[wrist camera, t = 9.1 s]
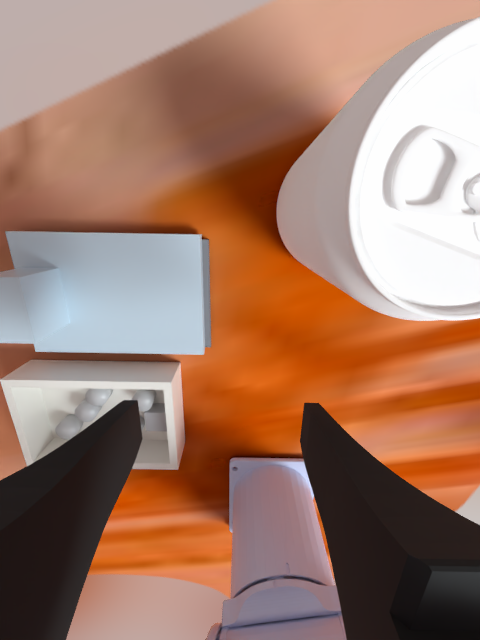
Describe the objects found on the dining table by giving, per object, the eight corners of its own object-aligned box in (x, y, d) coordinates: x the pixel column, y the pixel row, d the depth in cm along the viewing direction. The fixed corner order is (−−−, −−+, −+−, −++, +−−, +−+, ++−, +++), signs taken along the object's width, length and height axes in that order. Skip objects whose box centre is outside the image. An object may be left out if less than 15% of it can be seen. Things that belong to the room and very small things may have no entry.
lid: (205, 350, 21) (196, 379, 17) (42, 347, 21) (-4, 376, 17) (201, 234, 18) (190, 237, 14) (14, 231, 18) (-50, 233, 14)
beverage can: (370, 282, 20) (540, 360, 9) (261, 256, 19) (290, 303, 8) (419, 158, 17) (758, 33, 6) (295, 124, 17) (408, -86, 5)
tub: (185, 441, 25) (178, 469, 22) (51, 439, 25) (27, 467, 22) (180, 362, 22) (171, 382, 19) (30, 359, 22) (-1, 379, 19)
